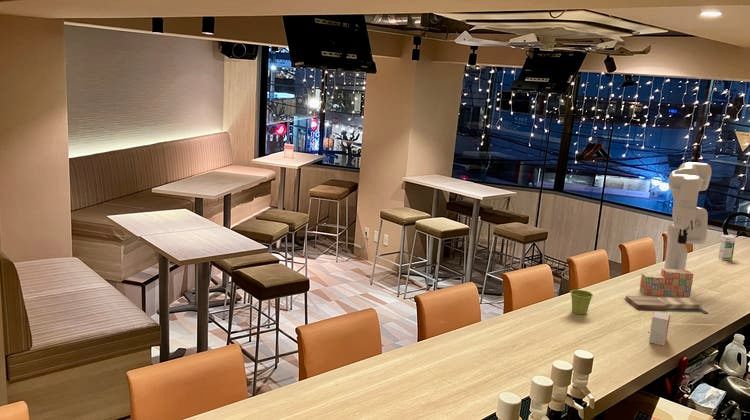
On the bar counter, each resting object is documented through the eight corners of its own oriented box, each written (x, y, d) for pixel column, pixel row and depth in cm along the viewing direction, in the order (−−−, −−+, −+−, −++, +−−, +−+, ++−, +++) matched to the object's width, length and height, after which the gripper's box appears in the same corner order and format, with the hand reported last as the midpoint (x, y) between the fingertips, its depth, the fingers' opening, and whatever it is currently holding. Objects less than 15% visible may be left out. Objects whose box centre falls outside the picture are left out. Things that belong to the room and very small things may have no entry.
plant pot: (594, 312, 256) (596, 293, 255) (585, 318, 249) (587, 298, 248) (574, 306, 262) (576, 288, 261) (564, 312, 256) (566, 292, 254)
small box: (664, 346, 223) (668, 320, 221) (648, 342, 226) (652, 316, 224) (667, 339, 230) (670, 314, 228) (651, 336, 233) (654, 310, 231)
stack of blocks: (643, 295, 283) (647, 270, 280) (639, 291, 289) (642, 267, 287) (690, 298, 281) (693, 273, 279) (684, 294, 287) (688, 269, 285)
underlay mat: (623, 299, 275) (623, 298, 275) (688, 301, 276) (688, 300, 276) (638, 311, 260) (639, 310, 260) (708, 313, 261) (708, 312, 260)
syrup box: (721, 260, 354) (725, 236, 351) (717, 257, 360) (721, 234, 357) (732, 260, 353) (736, 237, 351) (728, 258, 359) (731, 235, 356)
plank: (665, 308, 263) (665, 304, 263) (655, 301, 272) (655, 297, 272) (700, 308, 264) (701, 304, 263) (689, 301, 273) (690, 297, 272)
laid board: (625, 299, 273) (625, 295, 273) (653, 300, 274) (653, 296, 273) (637, 309, 262) (637, 304, 261) (666, 309, 262) (666, 305, 262)
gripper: (670, 201, 278) (665, 239, 281) (688, 207, 263) (682, 247, 266) (686, 201, 278) (681, 239, 281) (704, 207, 263) (698, 247, 267)
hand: (681, 243), depth 274 cm, fingers closed
